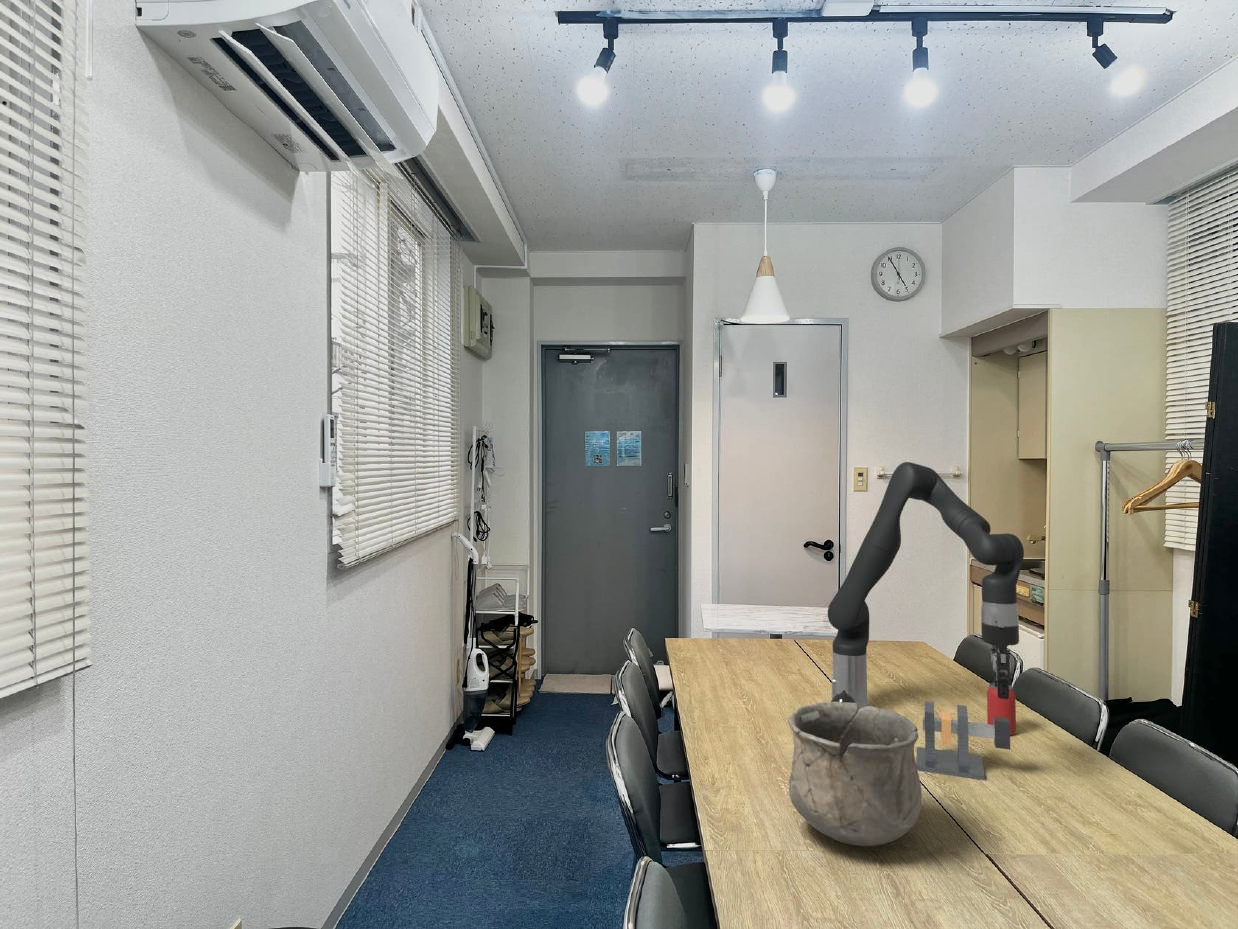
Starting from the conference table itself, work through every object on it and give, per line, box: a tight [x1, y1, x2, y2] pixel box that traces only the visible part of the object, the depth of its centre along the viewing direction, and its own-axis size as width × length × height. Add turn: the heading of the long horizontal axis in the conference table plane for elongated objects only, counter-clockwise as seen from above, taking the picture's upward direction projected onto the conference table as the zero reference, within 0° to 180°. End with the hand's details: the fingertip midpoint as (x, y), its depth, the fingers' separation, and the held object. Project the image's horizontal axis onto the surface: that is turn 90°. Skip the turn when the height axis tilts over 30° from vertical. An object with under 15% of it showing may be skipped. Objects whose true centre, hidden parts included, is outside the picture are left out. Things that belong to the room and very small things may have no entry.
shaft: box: [922, 715, 1011, 750], centre depth 162 cm, size 18×3×6 cm, turn 66°
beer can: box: [986, 682, 1017, 736], centre depth 183 cm, size 7×7×12 cm
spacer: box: [940, 710, 952, 747], centre depth 163 cm, size 2×6×6 cm, turn 156°
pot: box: [787, 701, 923, 847], centre depth 133 cm, size 25×24×21 cm
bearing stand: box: [915, 700, 985, 781], centre depth 163 cm, size 14×12×13 cm
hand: (1001, 692), depth 159 cm, fingers open, 8 cm apart
